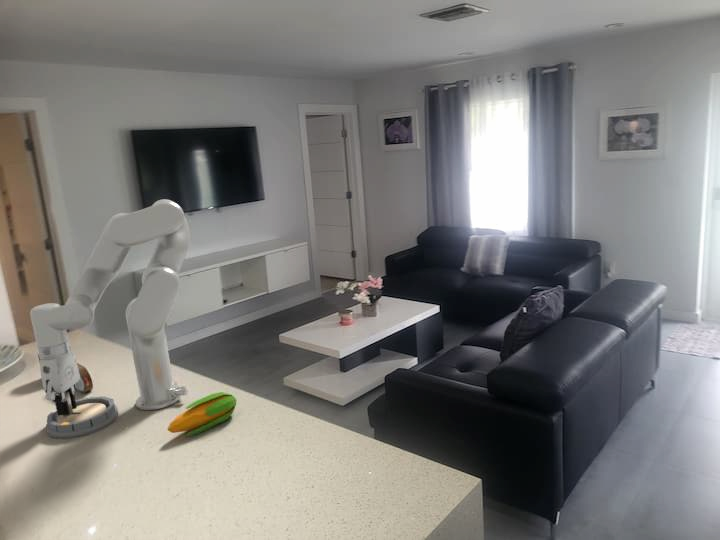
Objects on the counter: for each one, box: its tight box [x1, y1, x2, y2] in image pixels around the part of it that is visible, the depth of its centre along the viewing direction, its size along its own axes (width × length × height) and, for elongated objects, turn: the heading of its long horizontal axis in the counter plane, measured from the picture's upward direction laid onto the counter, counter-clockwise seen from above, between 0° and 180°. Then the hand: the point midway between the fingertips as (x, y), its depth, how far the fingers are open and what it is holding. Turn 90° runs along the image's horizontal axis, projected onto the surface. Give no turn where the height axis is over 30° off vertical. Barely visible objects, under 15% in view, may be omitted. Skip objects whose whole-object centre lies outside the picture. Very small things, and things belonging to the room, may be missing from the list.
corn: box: [167, 391, 237, 437], centre depth 144 cm, size 7×8×20 cm
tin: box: [74, 362, 94, 393], centre depth 176 cm, size 15×3×8 cm, turn 49°
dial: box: [57, 392, 106, 423], centre depth 152 cm, size 12×12×7 cm
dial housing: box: [45, 396, 119, 440], centre depth 153 cm, size 18×18×4 cm
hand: (67, 411), depth 153 cm, fingers closed on dial, 2 cm apart
